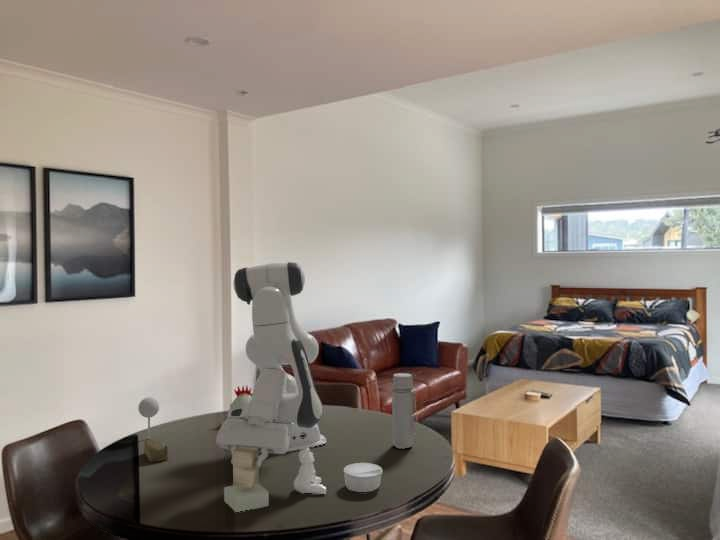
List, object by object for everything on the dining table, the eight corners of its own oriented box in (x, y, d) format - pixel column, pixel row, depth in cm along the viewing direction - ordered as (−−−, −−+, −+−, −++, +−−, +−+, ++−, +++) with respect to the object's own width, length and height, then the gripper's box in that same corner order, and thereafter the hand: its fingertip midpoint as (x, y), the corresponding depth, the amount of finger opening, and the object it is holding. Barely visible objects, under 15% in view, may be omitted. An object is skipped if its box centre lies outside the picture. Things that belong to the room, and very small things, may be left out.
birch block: (241, 478, 162) (241, 445, 162) (258, 480, 160) (258, 447, 160) (233, 485, 157) (233, 451, 157) (250, 487, 156) (250, 453, 155)
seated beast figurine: (327, 495, 164) (327, 451, 164) (296, 498, 162) (296, 454, 162) (320, 482, 173) (320, 441, 173) (290, 486, 171) (290, 444, 171)
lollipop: (163, 437, 218) (163, 396, 218) (150, 442, 211) (150, 400, 211) (147, 435, 220) (147, 394, 220) (134, 440, 213) (133, 398, 213)
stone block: (150, 464, 190) (150, 448, 190) (143, 454, 200) (143, 439, 200) (168, 461, 193) (168, 445, 193) (161, 451, 203) (161, 436, 202)
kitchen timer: (229, 418, 243) (229, 382, 243) (263, 417, 245) (263, 381, 245) (225, 428, 230) (225, 389, 229) (261, 427, 231) (261, 388, 231)
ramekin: (369, 498, 162) (369, 479, 162) (335, 490, 168) (335, 471, 168) (389, 485, 172) (389, 467, 172) (356, 477, 178) (356, 460, 178)
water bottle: (388, 449, 204) (388, 376, 204) (395, 442, 211) (396, 372, 211) (414, 452, 201) (414, 378, 200) (421, 445, 208) (421, 374, 207)
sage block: (255, 495, 165) (255, 481, 165) (268, 506, 157) (268, 491, 157) (224, 502, 160) (224, 487, 160) (235, 514, 153) (235, 498, 153)
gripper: (297, 426, 167) (285, 473, 158) (230, 421, 172) (214, 467, 163) (292, 415, 163) (278, 462, 153) (223, 410, 168) (206, 456, 158)
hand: (245, 465), depth 158 cm, fingers closed on birch block, 5 cm apart
